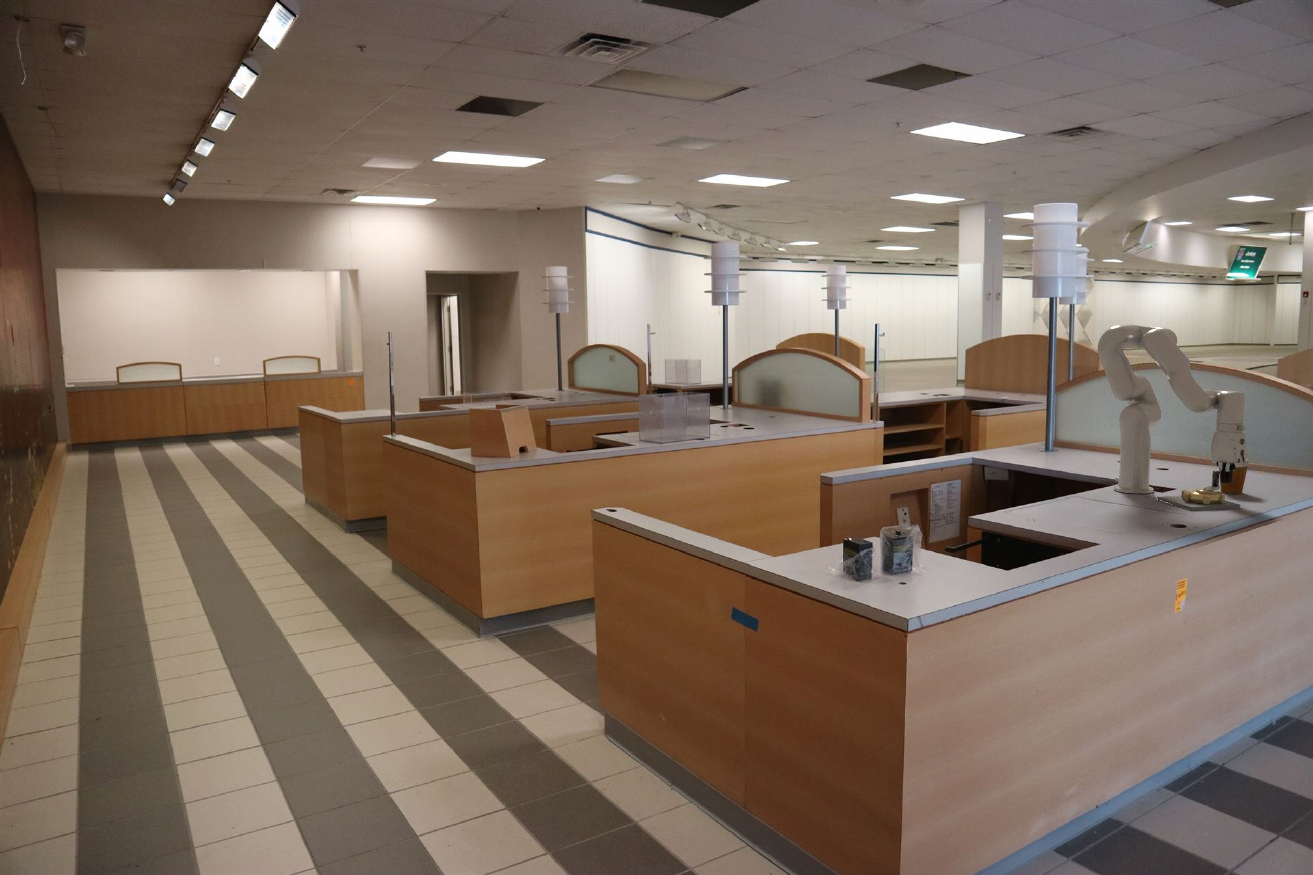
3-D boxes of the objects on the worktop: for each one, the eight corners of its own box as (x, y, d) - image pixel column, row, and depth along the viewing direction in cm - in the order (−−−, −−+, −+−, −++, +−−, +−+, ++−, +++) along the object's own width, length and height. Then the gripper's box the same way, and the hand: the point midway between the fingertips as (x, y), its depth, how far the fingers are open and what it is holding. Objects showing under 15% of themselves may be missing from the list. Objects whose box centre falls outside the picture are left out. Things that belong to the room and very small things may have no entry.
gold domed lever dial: (1216, 505, 288) (1217, 479, 287) (1175, 500, 298) (1176, 475, 297) (1236, 498, 299) (1237, 473, 297) (1195, 493, 308) (1197, 468, 307)
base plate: (1156, 500, 305) (1157, 496, 305) (1203, 498, 307) (1203, 494, 307) (1191, 510, 289) (1191, 506, 288) (1240, 508, 290) (1240, 504, 290)
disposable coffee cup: (1215, 489, 321) (1217, 456, 320) (1247, 491, 316) (1249, 457, 315) (1215, 493, 313) (1217, 460, 312) (1248, 496, 308) (1250, 461, 307)
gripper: (1259, 430, 291) (1255, 485, 293) (1217, 425, 305) (1214, 478, 307) (1242, 431, 288) (1238, 487, 291) (1200, 426, 302) (1197, 479, 305)
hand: (1225, 482), depth 299 cm, fingers closed
